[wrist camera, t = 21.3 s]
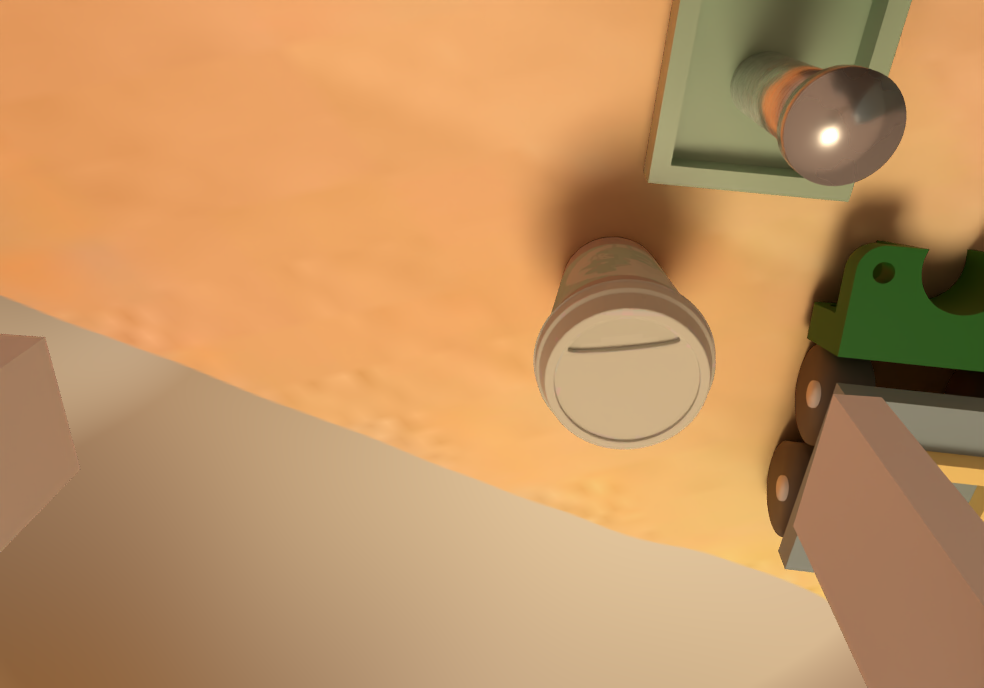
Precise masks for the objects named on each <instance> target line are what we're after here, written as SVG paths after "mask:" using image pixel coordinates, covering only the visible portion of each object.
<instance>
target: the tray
mask: <svg viewBox="0 0 984 688" xmlns="http://www.w3.org/2000/svg"><path fill="white" fill-rule="evenodd" d="M911 1H912V0H673V2H672V8H671V13H670V19H669V25H668V31H667V37H666V42H665V48H664V54H663V60H662V66H661V71H660V77H659V83H658V89H657V95H656V100H655V106H654V112H653V118H652V124H651V129H650V135H649V141H648V147H647V153H646V158H645V164H644V170H643V172H644V174H645V177H646V179H647V182H648V183H655V184H666V185H676V186H687V187H697V188H708V189H718V190H729V191H739V192H750V193H760V194H771V195H781V196H792V197H802V198H813V199H824V200H834V201H845V202H849V199H850V196H851V193H852V190H853V186H854V183H855V182H854V183H851V184H847V185H842V186H825V185H819V184H816V183H813V182H811V181H809V180H807V179H805V178H804V177H802V176H801V175H800V174H798V173H797V172H796V171H795V170H794V169H793V168H792V167H790V166H789V165H788V163H787V162H786V161H785V160H784V158H783V156H782V154H781V152H780V149H779V146H778V141H777V139H776V138H775V137H774V136H772V135H771V134H770V133H768V132H767V131H766V130H764V129H763V128H762V127H760V126H759V125H758V124H756V123H755V122H754V121H753V120H751V119H750V118H749V117H747V116H746V115H745V114H743V113H742V112H741V111H739V110H738V109H737V107H736V106H735V105H734V103H733V101H732V98H731V93H730V86H731V80H732V77H733V75H734V73H735V71H736V69H737V68H738V66H739V65H740V64H741V63H742V62H743V61H744V60H745V59H747V58H748V57H750V56H752V55H753V54H756V53H759V52H764V51H771V52H776V53H779V54H782V55H785V56H788V57H790V58H793V59H796V60H799V61H802V62H805V63H807V64H810V65H813V66H816V67H819V68H822V69H825V68H828V67H832V66H836V65H858V66H862V67H865V68H869V69H872V70H875V71H878V72H880V73H882V74H884V75H886V76H887V77H888V75H889V72H890V68H891V65H892V62H893V59H894V56H895V52H896V49H897V46H898V43H899V40H900V36H901V33H902V30H903V27H904V24H905V21H906V17H907V14H908V11H909V8H910V5H911Z"/></svg>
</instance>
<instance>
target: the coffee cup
mask: <svg viewBox="0 0 984 688" xmlns="http://www.w3.org/2000/svg"><path fill="white" fill-rule="evenodd" d="M715 364H716V361H715V344H714V339H713V335H712V332H711V330H710V327H709V325H708V323H707V322H706V320H705V318H704V317H703V315H702V314H701V312H700V311H699V310H698V309H697V308H696V307H695V306H694V305H693V304H692V303H691V302H690V301H689V300H688V299H686V298H685V297H684V296H682V295H681V294H680V293H679V292H678V291H677V289H676V288H675V287H674V285H673V284H672V282H671V281H670V280H669V278H668V277H667V275H666V274H665V273H664V271H663V270H662V268H661V267H660V266H659V264H658V263H657V262H656V260H655V259H654V258H653V256H652V255H651V254H650V253H649V252H648V251H647V250H646V249H645V248H644V247H643V246H641V245H640V244H638V243H636V242H634V241H632V240H629V239H626V238H621V237H606V238H601V239H597V240H594V241H592V242H590V243H588V244H586V245H584V246H583V247H581V248H580V249H579V250H578V251H577V252H576V253H575V254H574V255H573V256H572V257H571V259H570V260H569V262H568V264H567V266H566V268H565V271H564V274H563V277H562V280H561V283H560V286H559V290H558V293H557V296H556V300H555V303H554V306H553V309H552V313H551V315H550V316H549V317H548V319H547V320H546V322H545V323H544V325H543V327H542V329H541V331H540V333H539V335H538V338H537V341H536V345H535V350H534V372H535V377H536V381H537V384H538V387H539V390H540V393H541V395H542V397H543V399H544V401H545V403H546V404H547V406H548V407H549V409H550V410H551V411H552V412H553V414H554V415H555V416H556V417H557V419H558V420H559V421H560V422H561V424H562V425H563V426H564V427H566V428H567V429H568V430H569V431H570V432H571V433H573V434H574V435H576V436H577V437H579V438H581V439H583V440H585V441H587V442H589V443H592V444H595V445H598V446H601V447H606V448H612V449H637V448H643V447H648V446H652V445H655V444H658V443H660V442H663V441H665V440H667V439H669V438H671V437H673V436H674V435H676V434H677V433H679V432H680V431H682V430H683V429H684V428H685V427H686V426H688V425H689V424H690V423H691V422H692V420H693V419H694V418H695V417H696V416H697V414H698V413H699V411H700V410H701V408H702V406H703V405H704V402H705V400H706V398H707V394H708V392H709V390H710V388H711V385H712V382H713V379H714V374H715Z"/></svg>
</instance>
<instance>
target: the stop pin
mask: <svg viewBox="0 0 984 688" xmlns="http://www.w3.org/2000/svg"><path fill="white" fill-rule="evenodd" d="M730 93H731V98H732V101H733V103H734V105H735V106H736V107H737V109H738V110H739V111H741V112H742V113H743V114H745V115H746V116H747V117H749V118H750V119H751V120H753V121H754V122H755V123H756V124H758V125H759V126H760V127H762V128H763V129H764V130H766V131H767V132H768V133H770V134H771V135H772V136H774V137H775V138H776V139H777V141H778V146H779V149H780V152H781V154H782V156H783V158H784V160H785V161H786V162H787V163H788V165H789V166H790V167H792V168H793V169H794V170H795V171H796V172H797V173H798V174H800V175H801V176H802V177H804V178H805V179H807V180H809V181H811V182H813V183H816V184H819V185H825V186H842V185H847V184H851V183H854V182H857V181H860V180H862V179H864V178H866V177H868V176H869V175H871V174H873V173H874V172H875V171H877V170H878V169H879V168H880V167H882V166H883V165H884V164H885V163H886V162H887V161H888V159H889V158H890V157H891V156H892V154H893V153H894V152H895V150H896V149H897V147H898V145H899V143H900V141H901V138H902V136H903V133H904V129H905V124H906V106H905V102H904V98H903V96H902V94H901V91H900V90H899V88H898V87H897V85H896V84H895V83H894V82H893V81H892V80H891V79H890V78H888V77H887V76H886V75H884V74H882V73H880V72H878V71H875V70H872V69H869V68H865V67H862V66H858V65H836V66H832V67H828V68H825V69H822V68H819V67H816V66H813V65H810V64H807V63H805V62H802V61H799V60H796V59H793V58H790V57H788V56H785V55H782V54H779V53H776V52H771V51H764V52H759V53H756V54H753V55H752V56H750V57H748V58H747V59H745V60H744V61H743V62H742V63H741V64H740V65H739V66H738V68H737V69H736V71H735V73H734V75H733V77H732V80H731V86H730Z"/></svg>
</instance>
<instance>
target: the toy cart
mask: <svg viewBox="0 0 984 688" xmlns="http://www.w3.org/2000/svg"><path fill="white" fill-rule="evenodd" d="M833 394H842V395H856V396H870V397H882V398H883V399H884V401H885V402H886V403H887V404H888V406H889V407H890V408H891V409H892V410H893V412H894V413H895V414H896V415H897V417H898V418H899V419H900V420H901V421H902V423H903V424H904V425H905V426H906V428H907V429H908V430H909V431H910V432H911V434H912V435H913V436H914V437H915V439H916V440H917V441H918V442H919V443H920V445H921V446H922V447H923V448H924V450H925V451H926V452H927V453H928V454H929V456H930V457H931V458H932V459H933V461H934V462H935V463H936V464H937V465H938V467H939V468H940V469H941V470H942V472H943V473H944V474H945V475H946V476H947V478H948V479H949V480H950V481H951V483H952V484H953V485H954V486H955V487H956V489H957V490H958V491H959V492H960V494H961V495H962V496H963V497H964V498H965V500H966V501H967V502H968V503H969V505H970V506H971V507H972V508H973V509H974V511H975V512H976V513H977V514H978V516H979V517H980V518H981V519H982V520H983V522H984V372H980V371H970V370H961V369H957V370H956V372H955V373H954V374H953V376H952V377H951V379H950V381H949V383H948V385H947V388H946V390H945V394H938V393H929V392H920V391H910V390H901V389H891V388H882V387H876V382H875V374H874V370H873V366H872V363H871V361H870V360H865V359H856V358H846V357H838V356H836V355H834V354H833V353H831V352H829V351H828V350H826V349H824V348H823V347H821V346H819V345H818V344H817V345H815V346H813V347H812V348H811V349H810V350H809V352H808V353H807V355H806V357H805V358H804V361H803V363H802V365H801V368H800V372H799V375H798V380H797V385H796V393H795V414H796V421H797V426H798V429H799V432H800V435H801V437H802V438H803V440H804V441H805V442H806V443H802V442H793V441H783V442H782V443H781V444H779V446H778V447H777V448H776V450H775V452H774V454H773V457H772V460H771V463H770V468H769V473H768V480H767V505H768V512H769V517H770V521H771V524H772V526H773V529H774V530H775V532H776V533H777V534H778V535H779V536H781V537H783V539H782V542H781V545H780V547H779V550H778V551H779V554H780V557H781V559H782V562H783V565H784V567H785V569H790V570H798V571H806V572H814V570H813V568H812V566H811V564H810V562H809V559H808V557H807V555H806V553H805V551H804V548H803V546H802V544H801V542H800V540H799V538H798V535H797V533H796V531H795V529H794V527H793V525H794V522H795V518H796V515H797V512H798V509H799V505H800V502H801V499H802V495H803V492H804V489H805V486H806V482H807V479H808V476H809V473H810V469H811V466H812V463H813V459H814V456H815V453H816V450H817V446H818V443H819V440H820V436H821V433H822V430H823V427H824V423H825V420H826V417H827V413H828V410H829V407H830V404H831V400H832V397H833Z"/></svg>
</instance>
